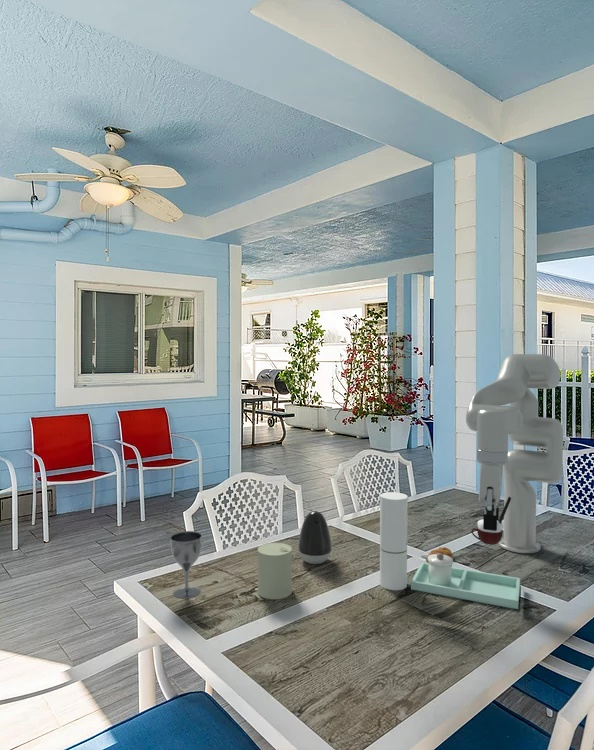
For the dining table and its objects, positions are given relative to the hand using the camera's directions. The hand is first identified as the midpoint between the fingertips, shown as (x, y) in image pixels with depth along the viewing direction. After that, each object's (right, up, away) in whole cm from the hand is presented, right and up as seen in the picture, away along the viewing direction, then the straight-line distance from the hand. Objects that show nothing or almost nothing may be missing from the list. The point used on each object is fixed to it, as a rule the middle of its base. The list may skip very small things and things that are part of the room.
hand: (491, 525), depth 136 cm
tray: (-6, -18, +3) cm, 19 cm away
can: (-56, -19, +3) cm, 59 cm away
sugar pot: (-12, -17, +6) cm, 22 cm away
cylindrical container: (-24, -19, +5) cm, 31 cm away
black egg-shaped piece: (-45, -18, +23) cm, 53 cm away
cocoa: (0, -5, 0) cm, 5 cm away
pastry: (-7, -18, +22) cm, 30 cm away
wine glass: (-79, -19, +3) cm, 82 cm away
